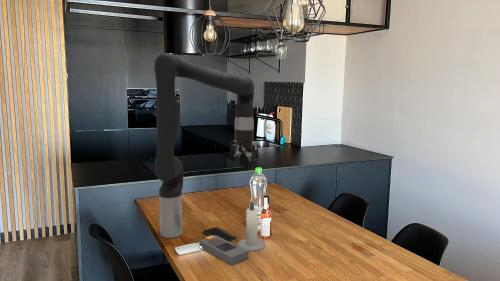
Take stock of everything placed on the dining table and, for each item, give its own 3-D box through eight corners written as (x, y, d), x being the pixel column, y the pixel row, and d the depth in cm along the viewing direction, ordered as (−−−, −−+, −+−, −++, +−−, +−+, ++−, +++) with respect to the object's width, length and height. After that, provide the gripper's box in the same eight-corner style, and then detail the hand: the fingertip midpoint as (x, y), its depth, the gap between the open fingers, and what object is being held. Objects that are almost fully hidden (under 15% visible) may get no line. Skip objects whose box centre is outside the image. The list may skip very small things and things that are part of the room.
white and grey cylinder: (243, 243, 158) (244, 202, 156) (251, 240, 161) (252, 200, 159) (251, 246, 155) (251, 205, 153) (259, 243, 158) (259, 202, 156)
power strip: (199, 247, 156) (199, 238, 155) (215, 241, 161) (215, 233, 161) (231, 265, 141) (231, 255, 141) (248, 258, 147) (248, 249, 146)
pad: (232, 244, 159) (232, 243, 159) (252, 237, 166) (252, 235, 166) (250, 253, 151) (250, 252, 151) (271, 245, 158) (271, 244, 158)
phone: (215, 226, 175) (237, 237, 164) (215, 229, 176) (237, 239, 165) (201, 231, 170) (222, 242, 159) (201, 233, 170) (222, 244, 159)
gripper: (225, 127, 160) (225, 166, 163) (249, 130, 150) (248, 172, 152) (239, 125, 165) (239, 163, 168) (263, 129, 155) (263, 169, 157)
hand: (244, 167), depth 160 cm, fingers open, 8 cm apart
